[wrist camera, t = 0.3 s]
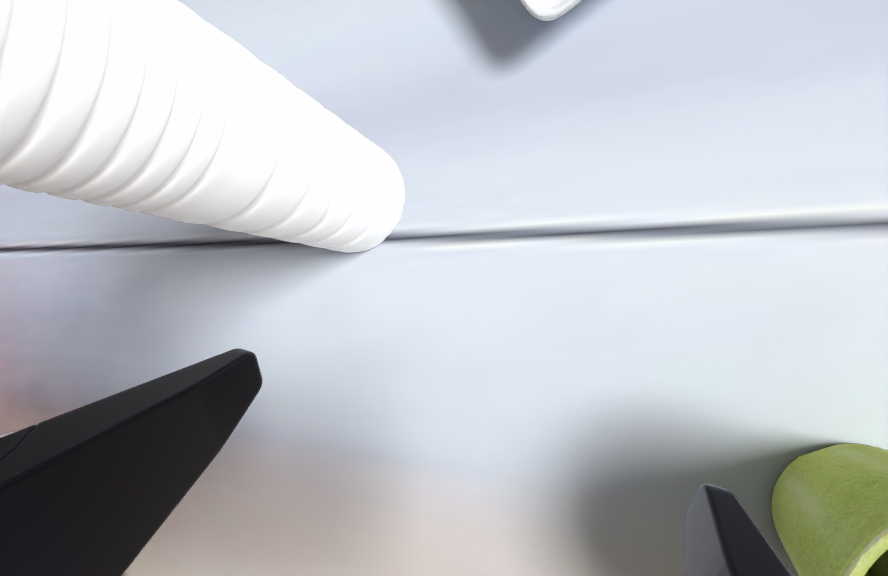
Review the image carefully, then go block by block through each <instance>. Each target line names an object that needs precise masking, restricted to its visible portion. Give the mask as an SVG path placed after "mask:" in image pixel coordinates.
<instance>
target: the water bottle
mask: <svg viewBox="0 0 888 576" xmlns="http://www.w3.org/2000/svg"><path fill="white" fill-rule="evenodd" d="M2 184H4V185H7V186H10V187H13V188H16V189H20V190H24V191H28V192H34V193H47V194H50V195H53V196H57V197H61V198H65V199H71V200H82V201H85V202H89V203H93V204H97V205H102V206H112V207H116V208H120V209H124V210H128V211H139V212H143V213H146V214H150V215H154V216H158V217H163V218H167V219H171V220H175V221H180V222H185V223H191V224H205V225H208V226H211V227H215V228H219V229H223V230H228V231H234V232H244V233H248V234H252V235H256V236H260V237H270V238H274V239H278V240H282V241H287V242H292V243H301V244H305V245H309V246H313V247H319V248H325V249H329V250H333V251H340V252H347V253H355V252H362V251H366V250H369V249H371V248H373V247H375V246H377V245H379V244H380V243H381V242H383V241H384V240H385V238H386V237H387V236H388V235H390V234H391V233H392V231H393V230H394V229H395V227H396V225H397V224H398V222H399V219H400V217H401V214H402V206H403V204H404V200H405V189H404V182H403V178H402V176H401V174H400V172H399V169H398V167H397V165H396V163H395V162H394V161H393V159H392V158H391V157H390V156H389V155H388V154H387V153H386V152H385V151H383V150H382V149H381V148H379V147H378V146H377V145H375V144H374V143H373V142H371V141H370V140H368V139H367V138H365V137H363V136H362V135H361V134H360V133H359V132H357V131H356V130H355V129H353V128H352V127H350V126H349V125H347V124H345V123H344V122H343V121H342V120H341V119H340V118H338V117H337V116H336V115H334V114H333V113H332V112H330V111H328V110H327V109H325V108H323V107H322V106H321V105H320V104H319V103H318V102H317V101H315V100H314V99H313V98H311V97H310V96H309V95H307V94H306V93H304V92H303V91H301V90H299V89H298V88H296V87H295V86H294V85H293V84H292V83H290V82H289V81H288V80H287V79H286V78H284V77H283V76H282V75H280V74H279V73H278V72H276V71H275V70H273V69H272V68H270V67H269V66H267V65H266V64H264V63H262V62H260V61H259V60H258V59H257V58H256V57H255V56H254V55H253V54H251V53H250V52H249V51H248V50H247V49H245V48H244V47H243V46H241V45H240V44H239V43H237V42H236V41H235V40H233V39H232V38H230V37H229V36H227V35H226V34H224V33H222V32H221V31H220V30H218V29H217V28H215V27H214V26H212V25H211V24H209V23H208V22H206V21H204V20H203V19H201V18H200V17H199V16H198V15H197V14H196V13H194V12H193V11H192V10H191V9H189V8H188V7H186V6H185V5H183V4H182V3H180V2H178V1H177V0H0V185H2Z"/></svg>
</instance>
